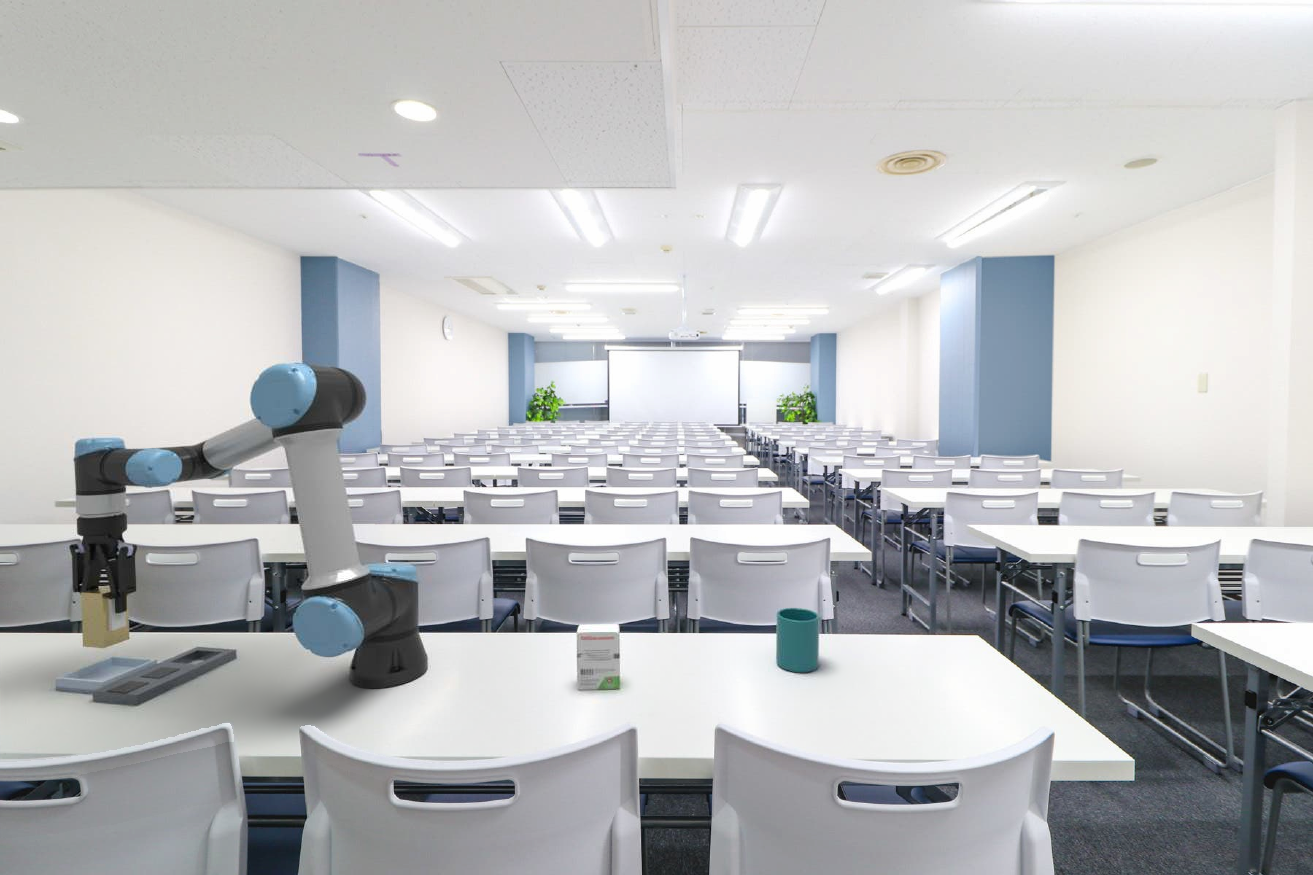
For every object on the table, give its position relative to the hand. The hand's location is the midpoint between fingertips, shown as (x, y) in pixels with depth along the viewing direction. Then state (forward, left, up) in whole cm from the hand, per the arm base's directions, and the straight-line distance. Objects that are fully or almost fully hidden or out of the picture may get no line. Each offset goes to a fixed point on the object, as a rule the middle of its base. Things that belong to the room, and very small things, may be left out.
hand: (105, 627), depth 124 cm
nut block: (0, 0, -3) cm, 3 cm away
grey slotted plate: (-12, -3, -11) cm, 16 cm away
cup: (-140, -33, -11) cm, 144 cm away
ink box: (-100, -15, -11) cm, 101 cm away
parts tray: (0, 0, -11) cm, 11 cm away
